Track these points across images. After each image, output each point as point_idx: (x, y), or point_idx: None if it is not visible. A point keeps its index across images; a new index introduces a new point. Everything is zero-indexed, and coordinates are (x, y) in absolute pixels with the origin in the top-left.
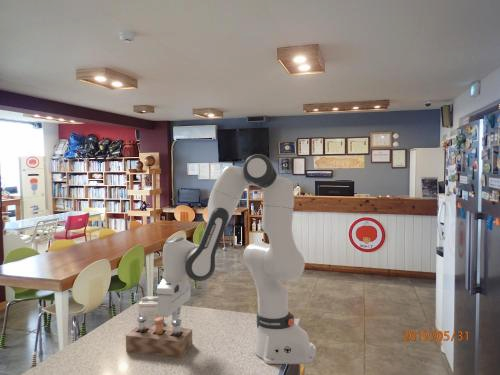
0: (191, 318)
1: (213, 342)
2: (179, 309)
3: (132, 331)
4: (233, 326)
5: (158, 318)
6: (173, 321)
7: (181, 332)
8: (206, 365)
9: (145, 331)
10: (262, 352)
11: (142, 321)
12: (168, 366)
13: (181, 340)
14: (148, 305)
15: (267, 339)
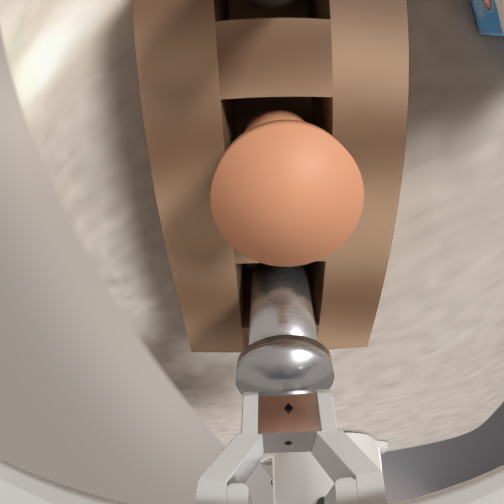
0: None
1: (371, 346)
2: (334, 480)
3: None
4: (485, 351)
5: (319, 176)
6: (270, 368)
7: (320, 308)
8: (194, 373)
9: (263, 3)
10: (279, 461)
11: None
12: (121, 264)
13: (203, 350)
14: None
15: (273, 500)
